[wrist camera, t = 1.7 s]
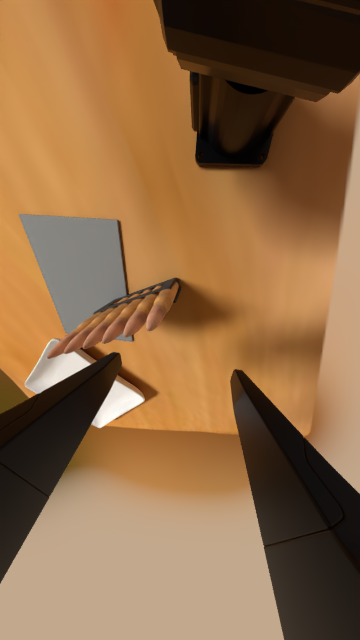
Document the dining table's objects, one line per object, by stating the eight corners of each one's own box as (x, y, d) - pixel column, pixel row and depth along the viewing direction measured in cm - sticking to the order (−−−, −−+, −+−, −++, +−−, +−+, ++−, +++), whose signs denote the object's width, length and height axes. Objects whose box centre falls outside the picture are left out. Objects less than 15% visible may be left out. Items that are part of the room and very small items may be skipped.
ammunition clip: (176, 277, 18) (156, 312, 8) (181, 289, 19) (167, 338, 9) (112, 300, 21) (29, 351, 10) (118, 310, 22) (47, 368, 11)
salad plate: (66, 327, 25) (48, 337, 22) (151, 387, 31) (146, 402, 28) (36, 375, 34) (21, 387, 31) (107, 415, 39) (99, 429, 36)
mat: (118, 220, 16) (116, 219, 16) (132, 340, 24) (132, 341, 24) (21, 214, 17) (18, 214, 17) (67, 332, 25) (65, 333, 25)
